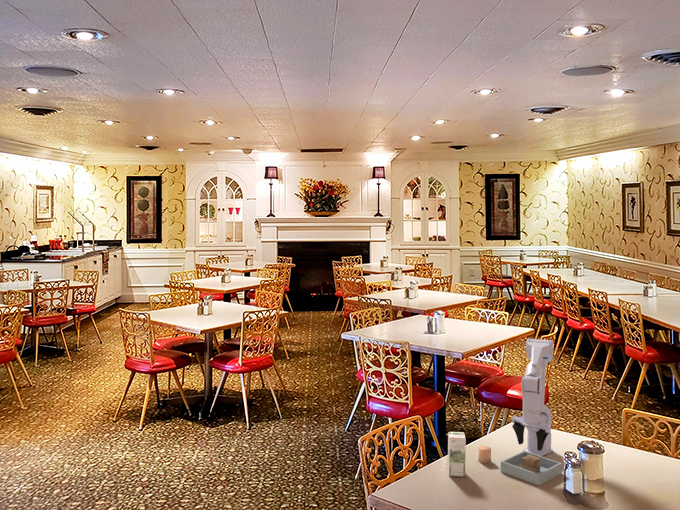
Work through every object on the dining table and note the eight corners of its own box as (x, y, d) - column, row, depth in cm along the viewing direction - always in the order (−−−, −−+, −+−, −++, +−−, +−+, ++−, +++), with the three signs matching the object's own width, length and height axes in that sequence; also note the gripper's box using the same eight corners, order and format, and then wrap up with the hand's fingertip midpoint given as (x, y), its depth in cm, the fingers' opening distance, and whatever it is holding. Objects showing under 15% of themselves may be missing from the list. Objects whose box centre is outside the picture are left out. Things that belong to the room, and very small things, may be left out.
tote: (523, 460, 227) (524, 450, 227) (561, 473, 215) (561, 463, 215) (500, 471, 217) (500, 461, 217) (538, 485, 205) (538, 475, 205)
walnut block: (528, 466, 219) (528, 454, 219) (540, 470, 216) (540, 458, 215) (521, 470, 216) (521, 457, 216) (533, 474, 213) (533, 461, 212)
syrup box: (463, 470, 218) (464, 431, 217) (465, 477, 212) (465, 437, 211) (447, 470, 218) (448, 430, 217) (448, 477, 212) (449, 436, 212)
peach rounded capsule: (483, 457, 229) (483, 445, 229) (493, 461, 226) (493, 448, 226) (475, 461, 226) (476, 448, 226) (486, 464, 223) (486, 451, 223)
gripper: (507, 407, 218) (506, 443, 219) (543, 417, 207) (542, 455, 208) (517, 403, 222) (517, 439, 223) (554, 412, 212) (553, 450, 212)
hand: (530, 446), depth 216 cm, fingers open, 7 cm apart
